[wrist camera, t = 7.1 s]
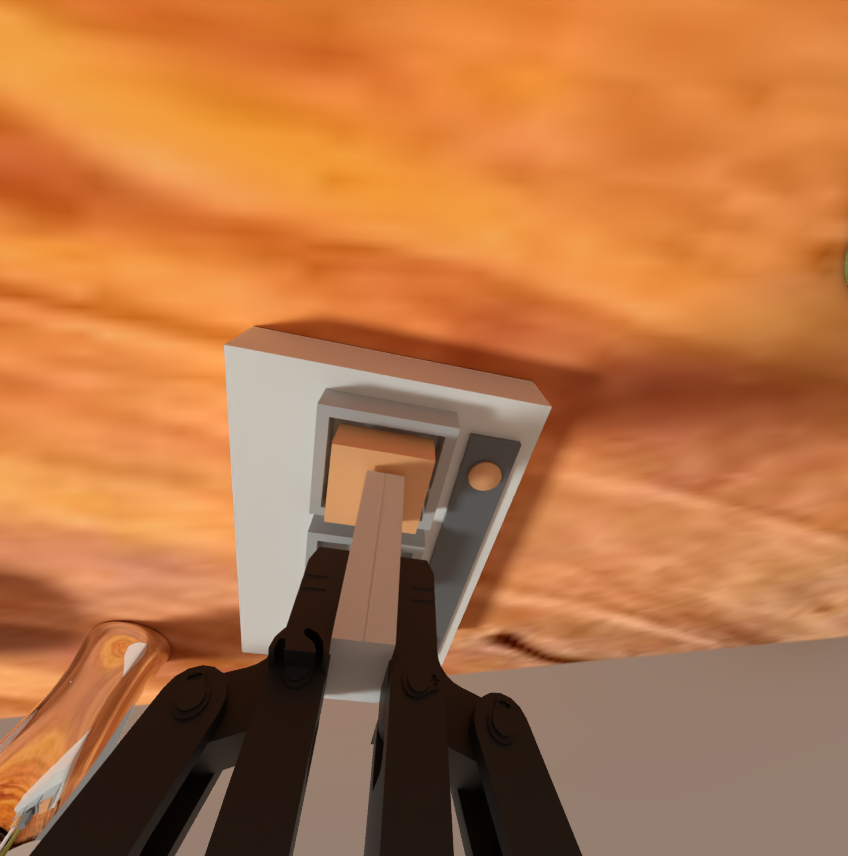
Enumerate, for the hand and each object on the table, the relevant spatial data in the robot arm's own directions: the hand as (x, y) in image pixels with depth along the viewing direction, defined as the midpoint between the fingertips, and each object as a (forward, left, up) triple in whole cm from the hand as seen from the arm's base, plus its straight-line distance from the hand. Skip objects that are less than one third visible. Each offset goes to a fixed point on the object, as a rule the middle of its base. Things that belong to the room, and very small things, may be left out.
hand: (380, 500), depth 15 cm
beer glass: (+24, -17, -6) cm, 30 cm away
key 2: (0, 0, -2) cm, 2 cm away
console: (+7, 0, -6) cm, 9 cm away
